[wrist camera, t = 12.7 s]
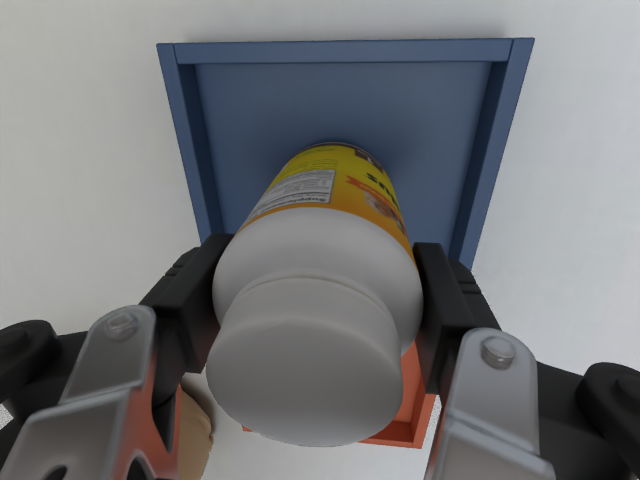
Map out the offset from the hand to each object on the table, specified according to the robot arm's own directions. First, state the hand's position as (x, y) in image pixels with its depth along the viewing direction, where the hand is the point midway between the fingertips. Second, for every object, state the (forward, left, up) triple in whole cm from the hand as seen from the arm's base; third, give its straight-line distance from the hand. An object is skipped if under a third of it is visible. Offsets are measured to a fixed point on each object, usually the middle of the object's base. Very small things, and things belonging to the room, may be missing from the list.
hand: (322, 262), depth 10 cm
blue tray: (0, 0, -7) cm, 7 cm away
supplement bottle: (0, 0, -6) cm, 6 cm away
